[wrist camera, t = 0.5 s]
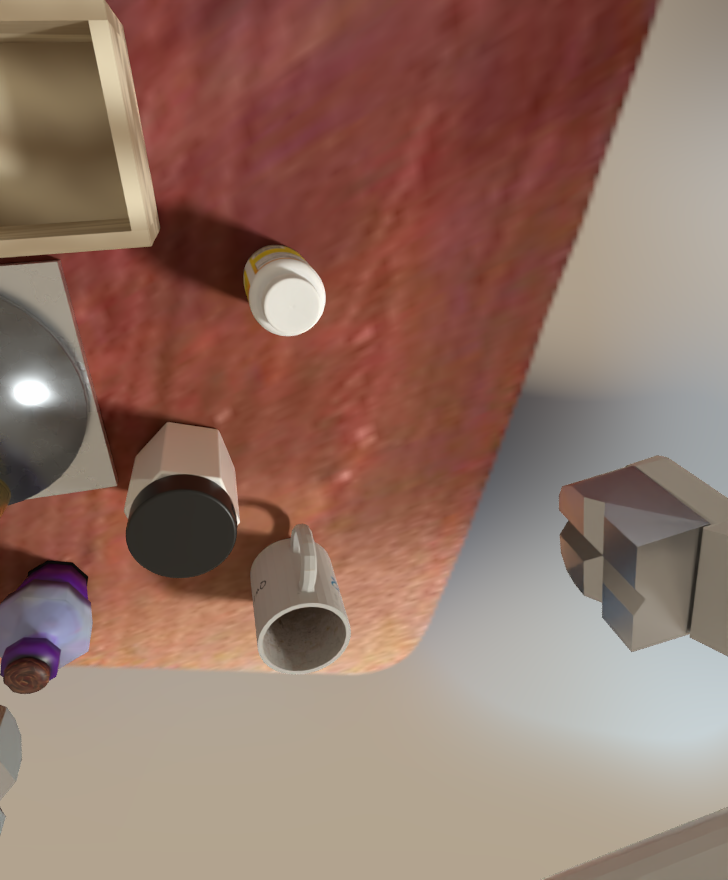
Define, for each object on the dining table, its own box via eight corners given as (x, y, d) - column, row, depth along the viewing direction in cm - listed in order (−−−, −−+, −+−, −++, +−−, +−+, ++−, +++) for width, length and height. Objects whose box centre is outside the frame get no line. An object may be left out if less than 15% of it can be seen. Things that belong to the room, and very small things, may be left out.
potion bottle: (-11, 598, 57) (-59, 701, 46) (35, 532, 55) (-5, 624, 44) (77, 629, 60) (51, 731, 50) (123, 569, 59) (105, 661, 48)
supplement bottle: (286, 323, 52) (303, 360, 43) (229, 287, 49) (235, 319, 40) (322, 268, 50) (347, 295, 41) (265, 228, 48) (279, 248, 39)
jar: (190, 517, 58) (188, 599, 47) (118, 471, 54) (98, 549, 44) (252, 453, 56) (263, 524, 46) (182, 402, 53) (176, 466, 42)
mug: (317, 607, 66) (334, 677, 58) (240, 598, 64) (246, 671, 55) (352, 515, 62) (377, 576, 54) (272, 501, 59) (284, 563, 51)
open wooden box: (-93, 27, 38) (-171, -3, 30) (122, 25, 40) (103, -3, 32) (-24, 241, 44) (-74, 263, 36) (160, 228, 46) (151, 246, 38)
